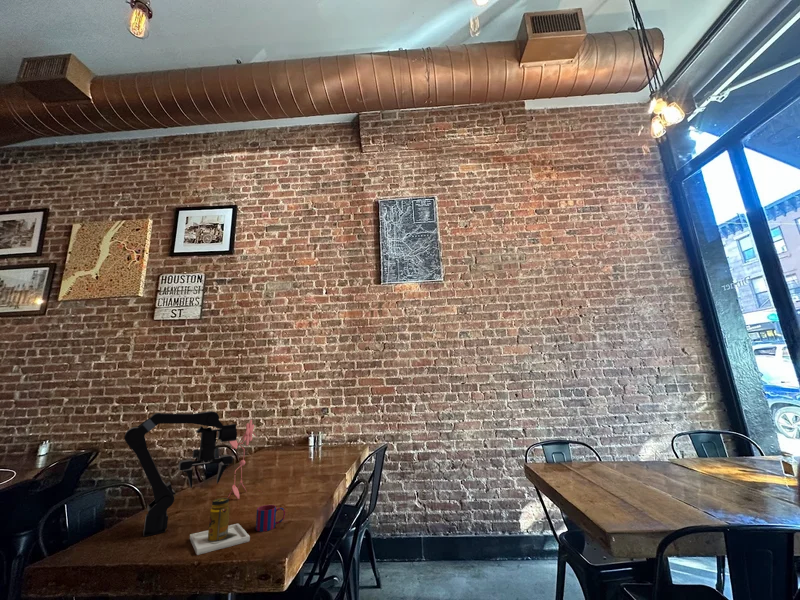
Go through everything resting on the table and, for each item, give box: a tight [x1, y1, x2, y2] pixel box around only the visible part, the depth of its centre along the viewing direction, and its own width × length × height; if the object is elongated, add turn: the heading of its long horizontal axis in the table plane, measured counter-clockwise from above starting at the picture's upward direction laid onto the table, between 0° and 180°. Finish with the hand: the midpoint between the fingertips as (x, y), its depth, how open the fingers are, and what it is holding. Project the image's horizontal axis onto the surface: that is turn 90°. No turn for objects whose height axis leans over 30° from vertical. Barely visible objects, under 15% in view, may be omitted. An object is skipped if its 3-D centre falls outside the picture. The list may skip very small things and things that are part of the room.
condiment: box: [202, 497, 237, 544], centre depth 123 cm, size 7×8×12 cm
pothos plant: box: [227, 419, 263, 500], centre depth 176 cm, size 15×26×35 cm, turn 4°
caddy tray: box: [189, 523, 251, 556], centre depth 121 cm, size 16×16×2 cm
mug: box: [255, 504, 286, 533], centre depth 132 cm, size 7×10×7 cm
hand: (204, 485), depth 141 cm, fingers open, 9 cm apart
